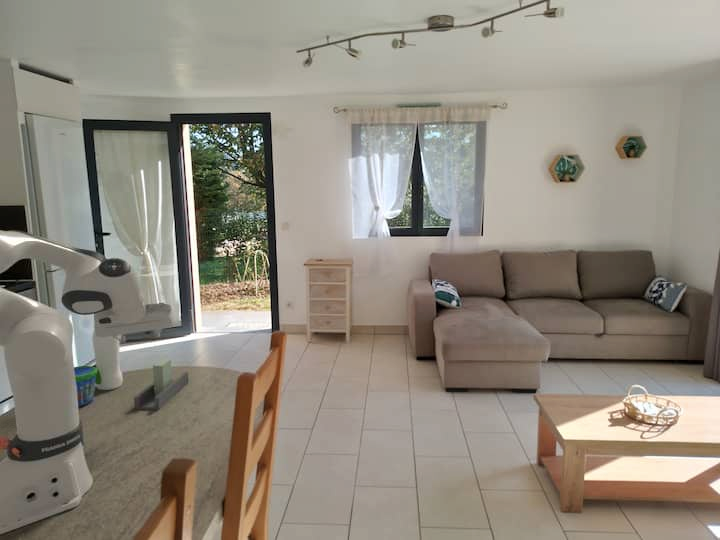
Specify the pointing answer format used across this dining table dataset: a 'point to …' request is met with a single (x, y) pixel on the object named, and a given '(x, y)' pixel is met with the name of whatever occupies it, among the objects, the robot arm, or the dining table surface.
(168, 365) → the door panel
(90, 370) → the snack cup
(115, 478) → the dining table surface
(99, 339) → the bottle
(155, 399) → the track
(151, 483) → the dining table surface
